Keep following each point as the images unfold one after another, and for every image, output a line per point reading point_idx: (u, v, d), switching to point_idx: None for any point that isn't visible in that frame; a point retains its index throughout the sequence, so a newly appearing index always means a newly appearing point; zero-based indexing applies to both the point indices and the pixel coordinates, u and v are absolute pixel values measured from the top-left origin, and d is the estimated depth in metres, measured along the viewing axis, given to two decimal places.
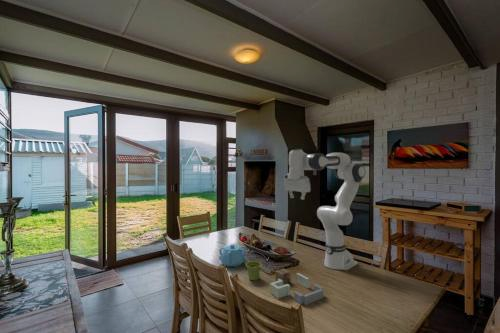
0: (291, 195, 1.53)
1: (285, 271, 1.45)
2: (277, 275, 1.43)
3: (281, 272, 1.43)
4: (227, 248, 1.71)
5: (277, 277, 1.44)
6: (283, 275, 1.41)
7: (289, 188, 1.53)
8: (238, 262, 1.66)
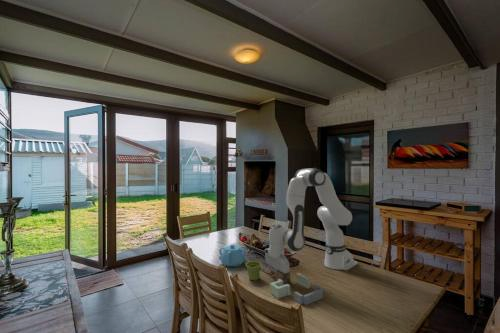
0: (275, 272, 1.49)
1: None
2: (277, 275, 1.43)
3: (281, 272, 1.43)
4: (227, 248, 1.71)
5: (277, 277, 1.44)
6: (283, 275, 1.41)
7: (270, 263, 1.52)
8: (238, 262, 1.66)
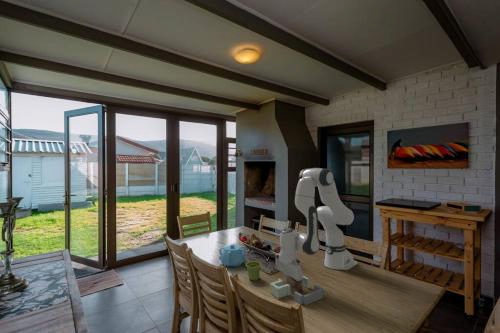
0: None
1: None
2: (288, 282, 1.34)
3: (292, 279, 1.33)
4: (227, 248, 1.71)
5: None
6: (294, 283, 1.31)
7: (280, 269, 1.43)
8: (238, 262, 1.66)
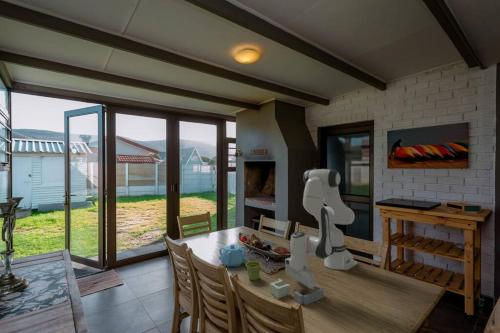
0: None
1: None
2: (297, 288, 1.27)
3: (301, 286, 1.25)
4: (227, 248, 1.71)
5: (297, 290, 1.27)
6: (301, 290, 1.23)
7: (291, 275, 1.35)
8: (238, 262, 1.66)
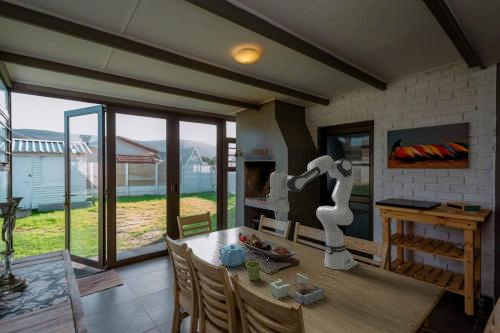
0: (276, 214, 1.60)
1: (307, 286, 1.26)
2: (297, 288, 1.27)
3: (301, 286, 1.26)
4: (227, 248, 1.71)
5: (297, 291, 1.28)
6: (301, 290, 1.23)
7: (271, 207, 1.64)
8: (238, 262, 1.66)
